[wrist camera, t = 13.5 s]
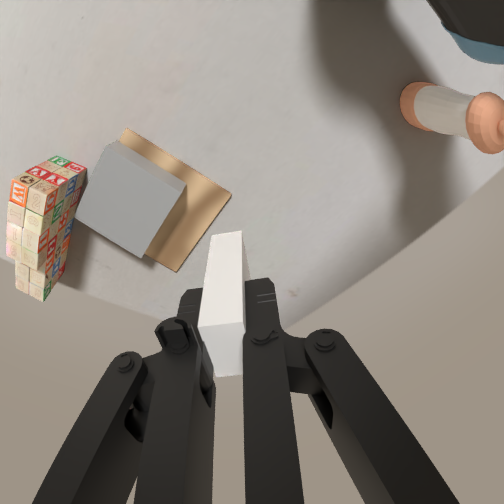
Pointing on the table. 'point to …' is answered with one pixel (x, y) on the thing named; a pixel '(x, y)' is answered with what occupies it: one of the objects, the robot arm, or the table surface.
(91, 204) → the block
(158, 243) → the mat
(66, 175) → the stack of blocks
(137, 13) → the table surface
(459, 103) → the salt shaker
